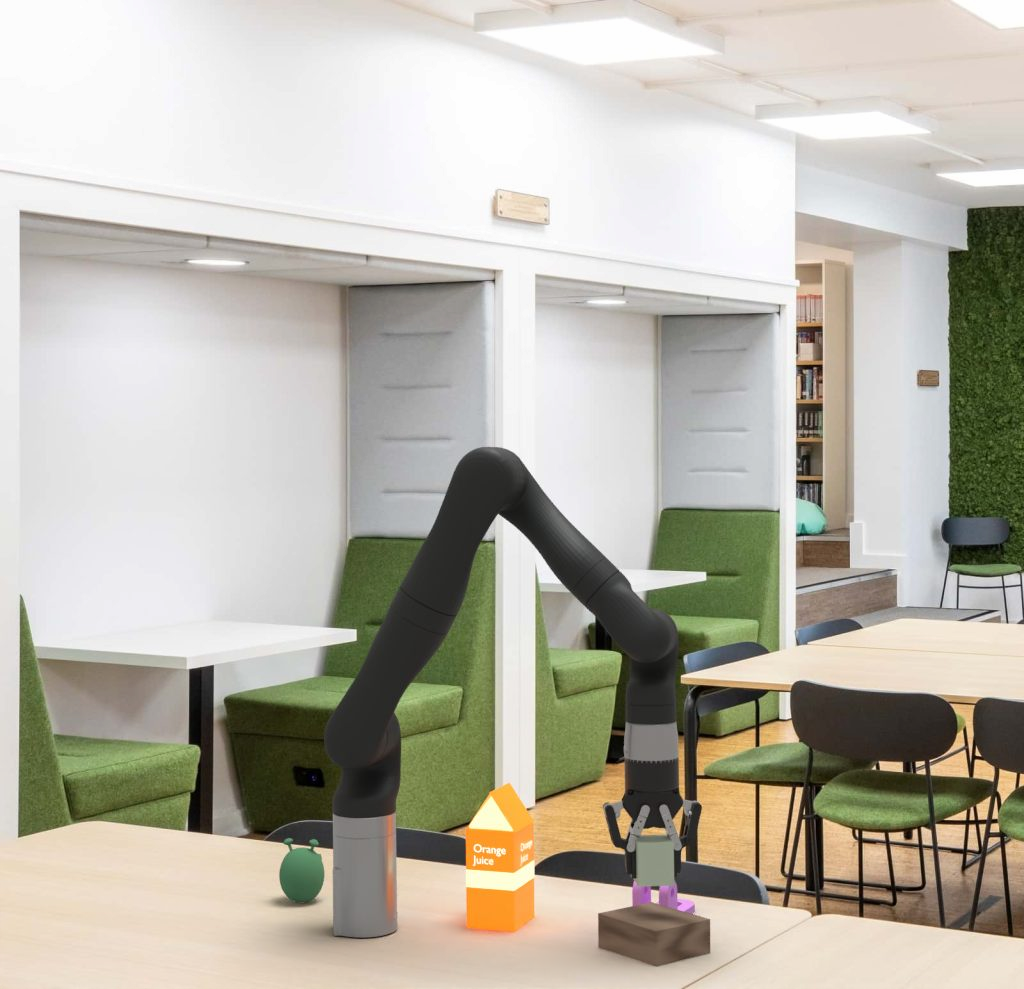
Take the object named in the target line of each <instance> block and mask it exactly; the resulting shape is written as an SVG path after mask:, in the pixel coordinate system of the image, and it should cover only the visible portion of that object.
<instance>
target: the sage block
mask: <svg viewBox="0 0 1024 989" xmlns="http://www.w3.org/2000/svg"><path fill="white" fill-rule="evenodd" d="M635 852H636V875H637V877H636V879H633V882H634V881H635V883H636V884H637V886H638V887H645V886H651V887H660V886H674V880H675V877H674V842H673V840H670V838H669V837H668V836H667V834H666V833H665V834H664V833H660V834H641V836H640V837H639V839H638V841H636V848H635Z"/></svg>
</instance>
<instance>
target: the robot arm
mask: <svg viewBox="0 0 1024 989" xmlns="http://www.w3.org/2000/svg"><path fill="white" fill-rule="evenodd" d="M498 515H499V516H500V517H502V518H503V519H505V521H507V522H509V523H510V525H512V526H514V527H515V528H516V529H517V530H518V531H520V532H521V533H522V535H524V537H525V538H526V539H527V540H528V541H529V542H530V543H531V545H533V546H534V547H535V549H536V550H537V552H538V553H539V554H540V556H541V557H542V558H543V560H544V561H545V563H546V565H547V566H548V568H549V569H550V570H551V572H553V574H554V575H555V577H556V578H557V580H559V582H560V583H561V584H562V585H563V587H565V589H567V590H568V591H569V593H571V594H572V596H574V598H575V599H577V601H578V602H579V603H580V604H581V605H583V606H584V608H586V609H587V610H588V612H590V613H591V614H592V615H593V616H594V617H595V618H596V619H597V620H598V622H599V624H600V625H601V626H602V627H603V629H604V630H605V631H606V632H607V634H608V635H609V636H610V638H611V639H612V640H613V641H614V642H615V644H616V645H617V647H619V648H620V649H621V650H622V651H623V652H624V653H625V654H626V655H627V656H628V657H629V660H630V661H629V663H630V665H629V668H630V669H629V670H630V671H629V672H630V673H629V680H628V683H627V685H626V688H625V690H626V691H625V729H624V730H625V731H624V736H623V737H624V738H623V740H624V741H623V744H624V745H623V754H624V794H623V796H622V798H621V800H619V801H617V802H612V803H610V802H604V804H602V809H603V814H604V817H605V821H606V825H607V830H608V834H609V836H610V840H611V843H612V844H613V846H614V847H615V848H616V849H618V848H619V849H621V850H623V851H624V870H625V872H626V874H627V875H629V877H630V878H631V880H634V879H636V877H637V875H636V852H635V848H636V841H638V839H639V837H640V836H641V835H642V833H643V830H646V829H647V830H648V829H651V828H657V829H663V830H664V832H665V834H667V836H668V837H669V838H670V840H673V842H674V878H677V877H678V874H681V870H682V850H683V849H684V848H685V847H688V846H689V847H691V846H693V845H694V844H695V842H696V837H697V834H698V833H697V832H698V828H699V824H700V820H701V813H702V810H703V806H702V804H701V803H700V802H699V801H697V800H696V799H694V800H688V799H683V797H682V795H681V793H680V770H679V769H680V762H679V761H680V760H679V758H680V757H679V756H680V752H679V750H680V748H679V732H678V726H677V696H676V678H677V670H678V669H677V668H678V659H679V658H678V657H679V656H678V655H679V631H678V627H677V624H676V622H675V621H674V619H673V618H672V617H671V616H670V615H669V614H668V613H667V612H665V611H664V610H661V609H656V608H651V607H649V606H648V605H647V603H646V602H644V600H642V598H641V597H640V596H639V595H638V594H637V593H636V592H635V591H634V590H633V588H632V587H633V586H632V584H631V581H630V580H628V578H627V577H626V576H625V574H623V572H622V571H620V570H619V569H618V567H617V566H616V565H615V564H614V563H612V561H611V560H609V559H608V558H607V557H606V555H604V554H603V553H602V551H600V550H599V549H598V548H597V547H596V546H595V545H594V544H593V543H592V542H591V541H589V539H588V538H587V537H585V536H584V534H583V533H581V531H580V530H578V528H577V527H576V526H574V524H572V522H570V520H569V519H568V518H566V517H565V515H564V514H563V513H562V512H561V511H560V510H559V507H557V506H556V505H555V504H554V502H553V501H552V500H551V499H550V497H549V496H548V495H547V493H546V492H545V491H544V489H543V488H542V487H541V486H540V485H539V483H538V482H537V480H536V479H535V478H534V476H533V474H531V472H530V471H529V469H528V468H527V466H526V465H525V464H524V462H523V461H522V460H521V458H520V457H519V456H518V455H517V454H516V453H515V452H513V451H511V450H509V449H507V448H504V447H500V446H499V447H497V446H481V447H476V448H474V449H473V450H470V451H469V452H467V453H466V454H465V455H464V456H462V457H461V459H460V461H458V463H457V465H456V467H455V469H454V471H453V474H452V476H451V478H450V482H449V484H448V487H447V489H446V491H445V495H444V498H443V500H442V503H441V506H440V508H439V510H438V513H437V516H436V518H435V521H434V522H433V525H432V526H431V529H430V531H429V533H428V534H427V536H426V538H425V540H424V542H423V543H422V544H421V546H420V548H419V550H418V552H417V554H416V555H415V558H414V559H413V560H412V562H411V565H410V567H409V569H408V570H407V572H406V575H405V576H404V577H403V579H402V581H401V583H400V586H399V587H398V589H397V591H396V593H395V595H394V597H393V598H392V600H391V602H390V605H389V607H388V610H387V612H386V613H385V616H384V618H383V619H382V620H383V621H382V622H381V625H380V626H379V629H378V631H377V632H376V635H375V636H374V639H373V641H372V643H371V646H370V647H369V650H368V652H367V654H366V657H365V658H364V661H363V662H362V663H363V664H362V665H361V667H360V669H359V671H358V673H357V674H356V676H355V678H354V680H353V681H352V683H351V684H350V686H349V687H348V689H347V691H346V692H345V693H344V695H343V696H342V698H341V700H340V701H339V703H338V705H337V706H336V707H335V709H334V710H333V712H332V714H331V715H330V717H329V719H328V721H327V723H326V724H325V725H326V726H325V729H324V737H323V741H324V748H325V752H326V754H327V756H328V758H329V759H330V761H331V762H332V763H333V764H334V765H336V766H338V767H339V768H341V776H340V780H339V782H338V785H337V788H336V790H335V791H334V793H333V796H332V853H333V854H332V856H333V857H332V858H333V859H332V860H333V862H332V864H333V865H332V921H333V922H332V924H333V925H332V926H333V927H332V930H333V934H332V935H333V936H334V937H335V936H342V937H347V938H348V937H350V938H373V937H374V938H376V937H382V936H386V935H389V934H392V933H394V932H396V930H398V885H397V884H398V882H397V881H398V880H397V876H398V875H397V872H398V871H397V867H398V866H397V797H398V796H399V795H398V794H399V792H400V788H401V770H402V769H401V768H402V732H401V727H400V722H399V719H398V717H397V715H396V713H395V711H396V709H397V707H398V705H399V703H400V700H401V699H402V697H403V696H404V694H405V692H406V690H407V689H408V687H409V686H410V685H411V683H413V681H415V678H416V677H417V676H418V675H419V674H420V673H421V671H422V670H423V669H424V668H425V667H426V665H428V664H429V662H430V660H431V659H432V658H433V657H434V656H435V655H436V653H437V651H439V648H440V647H441V645H442V644H443V642H445V641H444V640H445V639H446V638H447V635H448V634H449V633H450V630H451V627H453V624H454V622H455V619H456V618H457V616H458V614H459V612H460V610H461V608H462V606H463V602H464V600H465V598H466V597H465V596H466V593H467V589H468V586H469V582H470V578H471V573H472V569H473V564H474V560H475V558H476V554H477V551H478V549H479V547H480V545H481V543H482V541H483V539H484V537H485V536H486V533H487V532H488V531H489V529H490V528H491V526H492V524H493V522H494V521H495V519H496V517H497V516H498ZM682 807H683V812H684V814H685V816H686V817H687V818H686V821H685V825H684V830H683V834H682V835H681V836H679V835H678V830H677V828H676V825H675V823H674V818H676V816H677V815H678V813H679V812H680V811H681V809H682ZM623 809H624V810H625V812H626V813H627V814H628V816H629V817H630V818H631V820H630V824H629V825H628V831H627V834H626V837H625V838H623V837H622V835H621V832H620V828H619V823H618V820H617V819H619V818H620V817H621V811H622V810H623Z"/></svg>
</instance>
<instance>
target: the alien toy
mask: <svg viewBox="0 0 1024 989" xmlns="http://www.w3.org/2000/svg"><path fill="white" fill-rule="evenodd" d="M293 842H294V839H293V838H290V837H288V838H285V839H284V841H283V842H282V843H283V845H284V846H285V845H286V846H288V850H289V851H288V852H287V853H286V854H285V855H284V858H283V859H282V861H281V863H280V867H279V873H278V874H279V875H278V877H279V878H278V879H279V885H280V887H281V889H282V893H284V895H285V896H286V897H287V899H289V900H291V901H292V902H294V901H295V902H294V903H298V902H305V903H308V901H309V902H312V900H315V898H317V897H318V895H319V894H320V893H321V891H322V888H323V885H324V881H325V867H324V862H323V858H322V854H321V853H318V852H316V851H315V850H314V848H315V847H318V846H319V845H320V844H319V841H318V840H317V839H314V838H313V839H310V840H309V844H310V845H311V846H310V848H308V847H296V848H293V847H292V843H293Z"/></svg>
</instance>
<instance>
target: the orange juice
mask: <svg viewBox="0 0 1024 989" xmlns="http://www.w3.org/2000/svg"><path fill="white" fill-rule="evenodd" d="M534 822H535V821H534V819H533V817H532V816H531V814H530V813H529V811H528V810H527V807H526V806H525V805H524V803H523V801H522V800H521V798H520V797H519V794H518V793H517V792H516V791H515V789H514V787H513V785H512V784H511V782H508V783H506V784H504V785H501V786H500V787H498V788H495V789H494V790H491V791H489V794H488V796H487V797H486V799H485V800H484V801H483V803H482V805H481V806H480V808H479V809H478V811H477V812H476V814H474V817H473V818H472V820H471V821H470V823H469V824H468V826H467V827H466V828H465V889H466V892H465V893H466V900H465V901H466V928H467V929H477V930H485V931H486V930H489V931H500V932H509V933H511V932H512V933H516V932H517V931H518V930H520V929H521V928H522V927H524V926H525V925H526V924H527V923H528V922H530V921H531V920H533V919H534V918H535V848H534V847H535V843H534V842H535V836H534V833H535V832H534V830H535V829H534V828H535V827H534V825H535V824H534Z"/></svg>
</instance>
